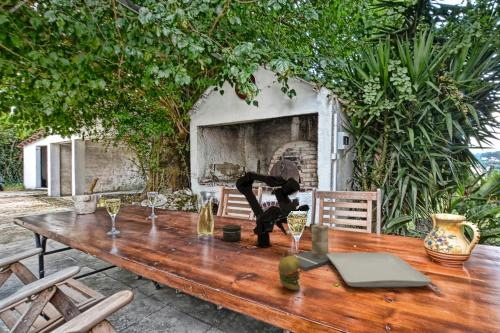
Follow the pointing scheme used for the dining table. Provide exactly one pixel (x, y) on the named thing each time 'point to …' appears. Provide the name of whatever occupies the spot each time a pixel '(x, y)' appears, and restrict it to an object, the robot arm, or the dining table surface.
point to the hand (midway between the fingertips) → (296, 232)
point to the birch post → (319, 241)
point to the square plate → (376, 270)
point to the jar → (231, 233)
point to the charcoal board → (311, 261)
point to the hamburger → (289, 272)
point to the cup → (312, 225)
